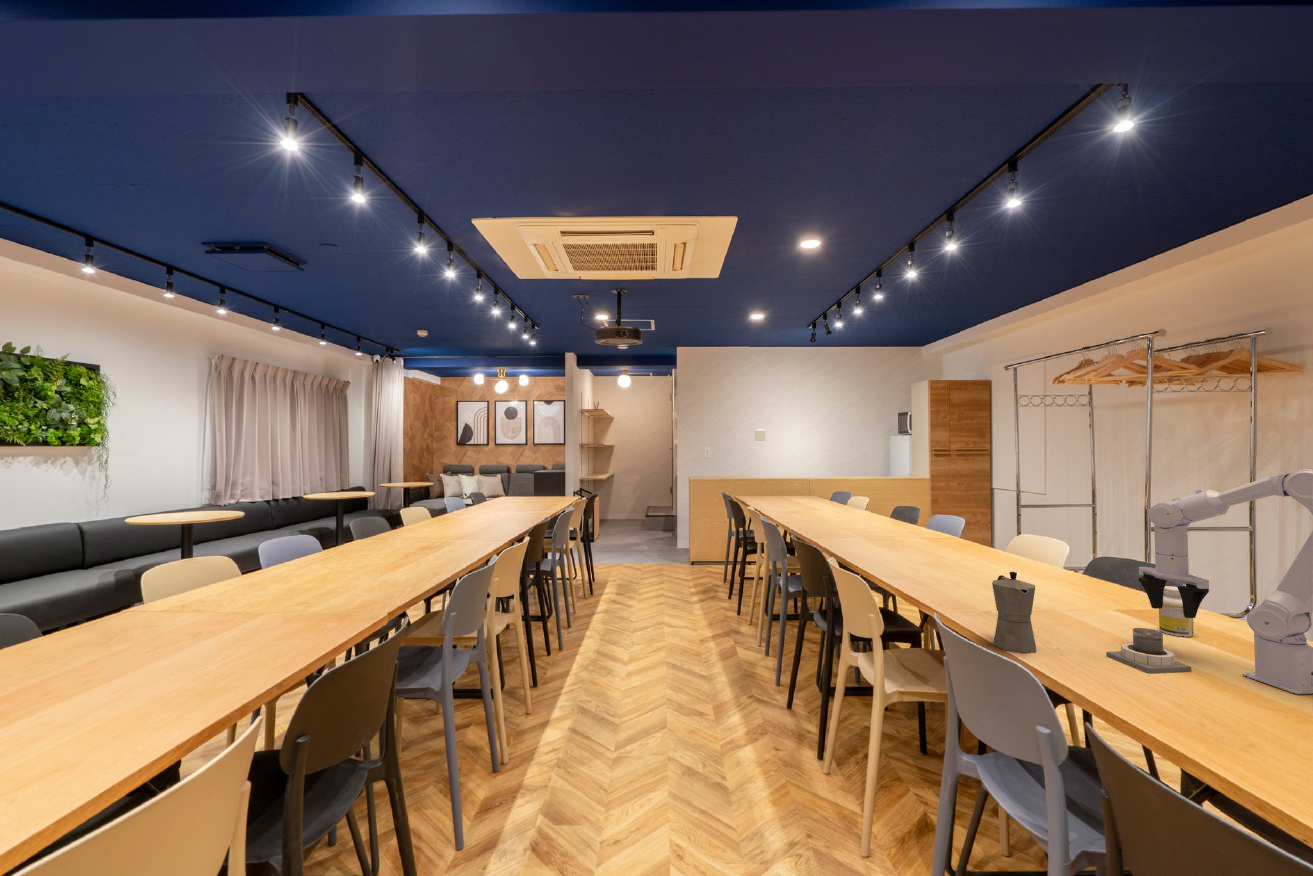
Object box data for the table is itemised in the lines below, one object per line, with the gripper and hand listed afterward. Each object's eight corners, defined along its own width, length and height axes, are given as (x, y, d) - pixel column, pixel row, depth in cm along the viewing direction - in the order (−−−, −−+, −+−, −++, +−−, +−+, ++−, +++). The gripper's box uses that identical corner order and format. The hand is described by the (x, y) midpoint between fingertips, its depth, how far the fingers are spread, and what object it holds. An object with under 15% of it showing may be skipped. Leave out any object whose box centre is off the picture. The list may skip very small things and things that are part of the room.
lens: (1169, 662, 122) (1169, 634, 122) (1150, 664, 121) (1149, 636, 121) (1146, 653, 127) (1145, 627, 127) (1127, 655, 126) (1126, 628, 126)
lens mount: (1191, 671, 119) (1191, 657, 119) (1148, 673, 118) (1148, 659, 118) (1146, 654, 129) (1146, 641, 129) (1106, 656, 128) (1106, 643, 128)
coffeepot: (1049, 658, 127) (1048, 578, 128) (1004, 655, 129) (1002, 576, 130) (1020, 636, 143) (1019, 565, 143) (979, 633, 144) (978, 563, 145)
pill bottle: (1179, 629, 147) (1178, 585, 147) (1200, 638, 141) (1199, 591, 141) (1152, 629, 148) (1151, 585, 148) (1172, 637, 141) (1171, 591, 142)
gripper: (1126, 549, 137) (1128, 604, 137) (1187, 560, 123) (1189, 622, 123) (1153, 548, 138) (1154, 603, 138) (1217, 559, 124) (1218, 621, 123)
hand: (1172, 612), depth 130 cm, fingers open, 7 cm apart
